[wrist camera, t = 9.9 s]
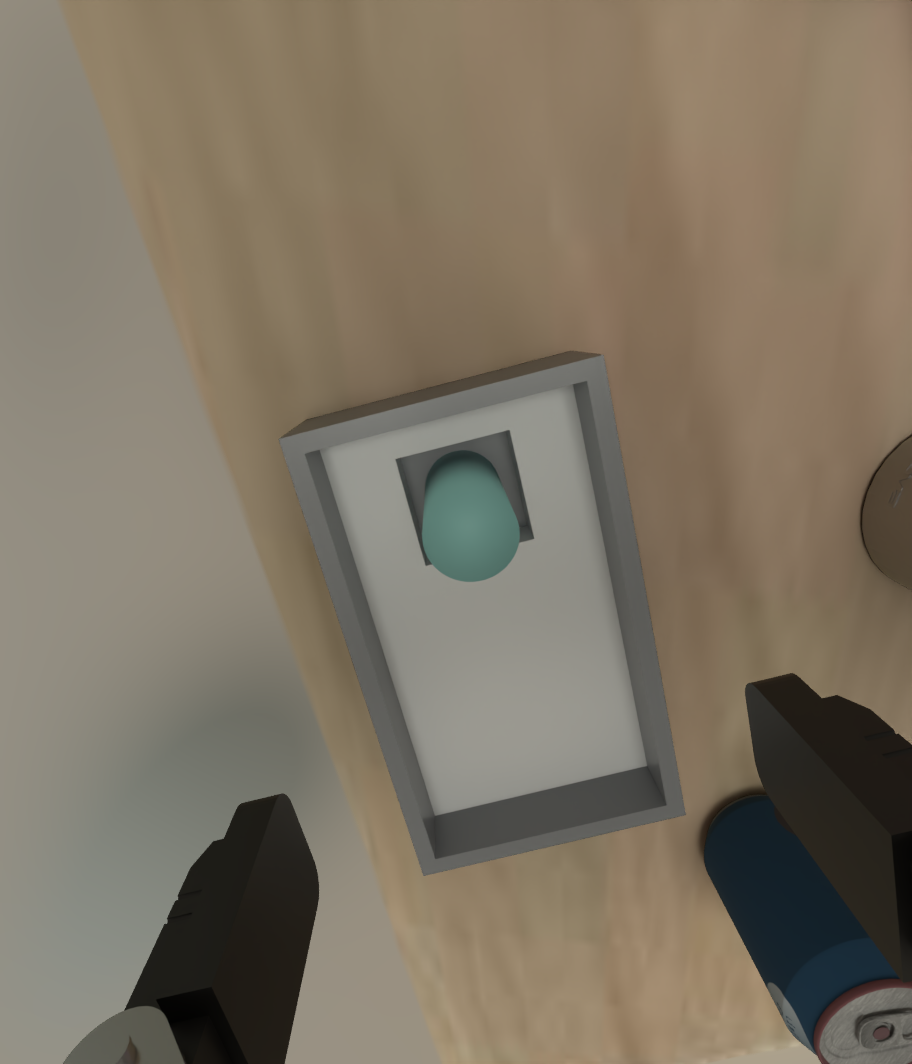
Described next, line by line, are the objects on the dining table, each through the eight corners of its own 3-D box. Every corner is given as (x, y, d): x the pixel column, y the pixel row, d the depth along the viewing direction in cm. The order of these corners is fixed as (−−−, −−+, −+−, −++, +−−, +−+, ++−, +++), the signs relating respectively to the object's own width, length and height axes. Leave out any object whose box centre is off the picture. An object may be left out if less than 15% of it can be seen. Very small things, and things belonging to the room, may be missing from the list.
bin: (571, 350, 31) (603, 354, 25) (646, 741, 37) (685, 814, 32) (306, 419, 32) (278, 439, 26) (424, 793, 38) (423, 875, 32)
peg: (514, 477, 32) (539, 523, 24) (471, 536, 33) (483, 598, 25) (452, 435, 31) (458, 469, 24) (411, 496, 32) (403, 549, 24)
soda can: (697, 887, 41) (802, 1105, 29) (693, 793, 39) (804, 988, 27) (809, 871, 41) (958, 1083, 29) (810, 776, 39) (972, 964, 27)
